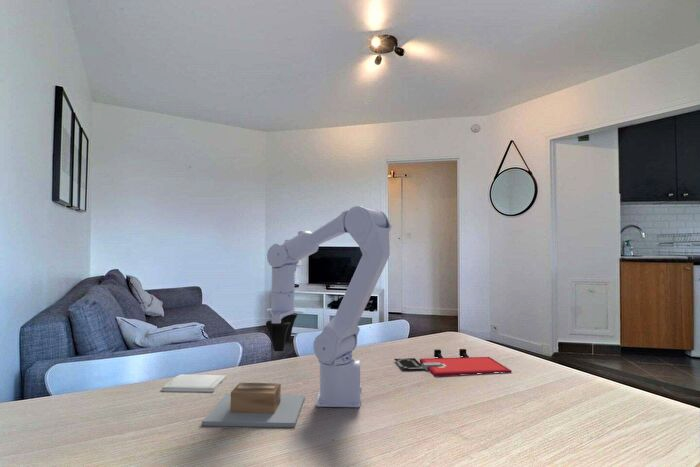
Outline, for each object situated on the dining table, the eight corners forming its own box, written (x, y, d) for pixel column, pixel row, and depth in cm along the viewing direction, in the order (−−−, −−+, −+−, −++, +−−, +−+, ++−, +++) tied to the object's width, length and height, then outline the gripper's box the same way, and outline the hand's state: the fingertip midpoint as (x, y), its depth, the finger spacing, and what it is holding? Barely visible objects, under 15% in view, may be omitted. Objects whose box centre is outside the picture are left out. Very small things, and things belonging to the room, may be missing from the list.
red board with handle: (392, 359, 104) (407, 379, 90) (392, 350, 105) (407, 368, 90) (482, 357, 109) (511, 375, 94) (482, 348, 109) (511, 365, 94)
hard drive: (162, 386, 80) (214, 387, 80) (179, 373, 89) (227, 374, 88) (161, 393, 80) (213, 394, 80) (179, 380, 89) (227, 380, 88)
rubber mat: (304, 399, 77) (304, 395, 77) (295, 427, 65) (295, 422, 65) (225, 397, 77) (225, 394, 77) (201, 425, 65) (201, 421, 65)
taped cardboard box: (239, 401, 74) (239, 381, 74) (280, 402, 73) (280, 382, 73) (230, 412, 69) (230, 391, 69) (274, 413, 68) (274, 392, 68)
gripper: (274, 288, 93) (273, 338, 93) (259, 295, 79) (258, 355, 78) (299, 288, 93) (299, 338, 92) (289, 296, 78) (288, 355, 78)
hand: (282, 346), depth 85 cm, fingers open, 7 cm apart
